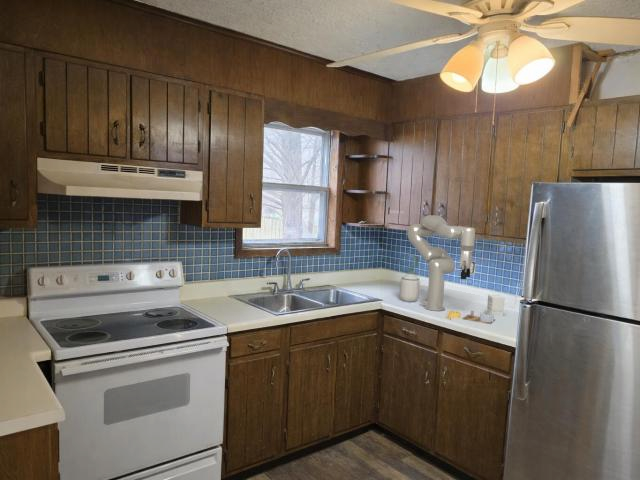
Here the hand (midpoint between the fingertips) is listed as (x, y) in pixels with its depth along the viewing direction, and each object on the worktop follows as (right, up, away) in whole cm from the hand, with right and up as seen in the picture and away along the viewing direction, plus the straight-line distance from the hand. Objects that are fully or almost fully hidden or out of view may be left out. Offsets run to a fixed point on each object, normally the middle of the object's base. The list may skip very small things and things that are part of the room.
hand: (465, 278), depth 272 cm
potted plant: (-25, -19, +42) cm, 52 cm away
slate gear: (+10, -24, -6) cm, 27 cm away
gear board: (+7, -25, -4) cm, 26 cm away
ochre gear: (-7, -24, -1) cm, 25 cm away
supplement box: (+20, -24, +9) cm, 33 cm away
